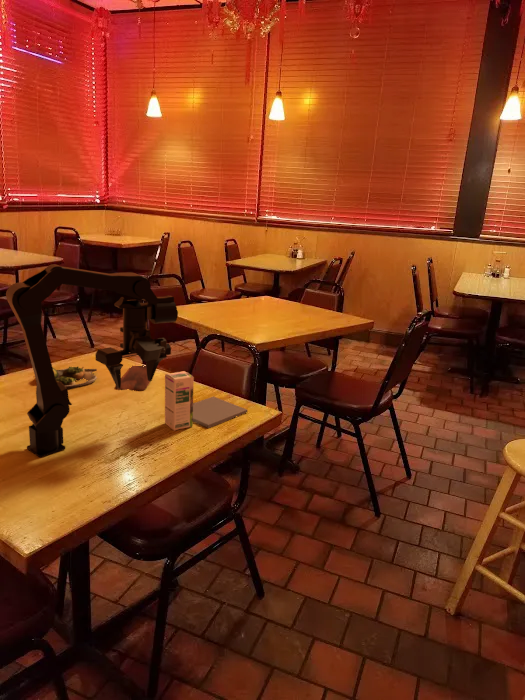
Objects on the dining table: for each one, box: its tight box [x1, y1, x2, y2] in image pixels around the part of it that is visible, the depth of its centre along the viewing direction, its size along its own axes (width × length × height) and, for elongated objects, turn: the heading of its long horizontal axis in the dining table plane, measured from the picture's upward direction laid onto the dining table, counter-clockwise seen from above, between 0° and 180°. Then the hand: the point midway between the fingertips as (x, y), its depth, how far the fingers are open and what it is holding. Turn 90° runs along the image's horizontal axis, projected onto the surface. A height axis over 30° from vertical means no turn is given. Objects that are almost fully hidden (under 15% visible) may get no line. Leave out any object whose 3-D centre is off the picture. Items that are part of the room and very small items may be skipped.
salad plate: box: [53, 366, 98, 390], centre depth 167 cm, size 19×18×5 cm
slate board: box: [193, 395, 248, 429], centre depth 148 cm, size 16×14×1 cm
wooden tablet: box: [115, 364, 151, 392], centre depth 174 cm, size 26×2×10 cm
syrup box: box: [164, 370, 195, 432], centre depth 137 cm, size 6×6×14 cm
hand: (134, 384), depth 130 cm, fingers open, 9 cm apart
